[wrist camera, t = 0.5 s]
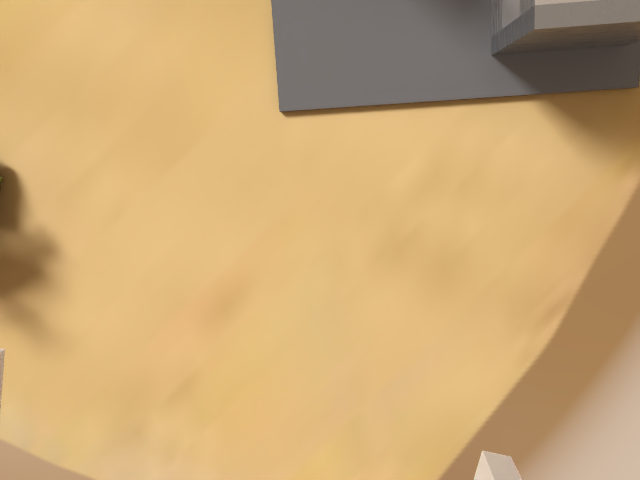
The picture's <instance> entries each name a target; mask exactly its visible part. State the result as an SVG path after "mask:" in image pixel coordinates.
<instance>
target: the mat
mask: <svg viewBox="0 0 640 480" xmlns="http://www.w3.org/2000/svg"><path fill="white" fill-rule="evenodd" d="M271 2H272V16H273V29H274V43H275V56H276V69H277V83H278V96H279V110H280V112H284V111H299V110H313V109H328V108H343V107H358V106H373V105H387V104H402V103H417V102H432V101H446V100H461V99H476V98H491V97H506V96H520V95H535V94H550V93H565V92H579V91H594V90H609V89H624V88H636V87H639V78H640V41H637V42H635V43H632V44H629V45H625V46H611V47H598V48H584V49H570V50H557V51H543V52H529V53H516V54H502V55H491V0H271Z"/></svg>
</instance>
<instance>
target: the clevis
mask: <svg viewBox="0 0 640 480" xmlns="http://www.w3.org/2000/svg"><path fill="white" fill-rule="evenodd" d="M637 41H640V0H491V55H502V54H516V53H529V52H543V51H557V50H570V49H584V48H598V47H611V46H625V45H629V44H632V43H635V42H637Z"/></svg>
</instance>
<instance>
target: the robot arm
mask: <svg viewBox="0 0 640 480" xmlns="http://www.w3.org/2000/svg"><path fill="white" fill-rule="evenodd" d="M4 353H5V349H1V348H0V408H1V394H2V381H3V367H4ZM474 480H522V478H521V476H520V474H519V472H518V470H517V468H516V466H515V464H514V462H513V460H512V458H511V457H510V456H506V455H502V454H497V453H492V452H487V451H482V454H481V457H480V460H479V464H478V467H477V470H476V474H475V477H474Z"/></svg>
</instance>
